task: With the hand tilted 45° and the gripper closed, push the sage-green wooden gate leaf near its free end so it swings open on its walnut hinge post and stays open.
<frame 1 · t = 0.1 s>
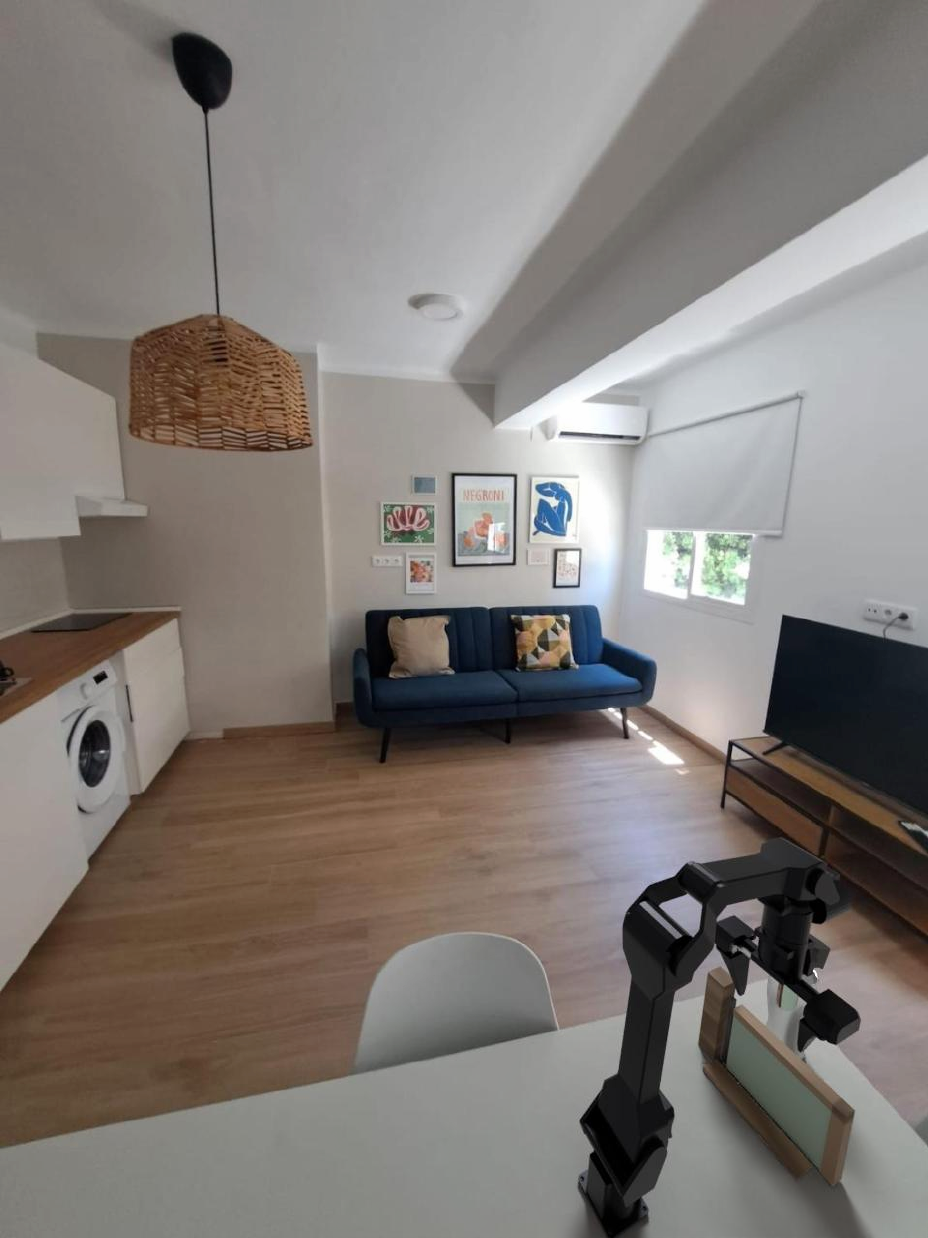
hand: (769, 1021, 72), 15 cm above the table, tool pointing down, fingers open, 9 cm apart
beer glass: (782, 1046, 84), on the table
gate leaf: (783, 1087, 72), point 6 cm above the table, hinge at 0.0°
gate frame: (724, 1062, 80), on the table
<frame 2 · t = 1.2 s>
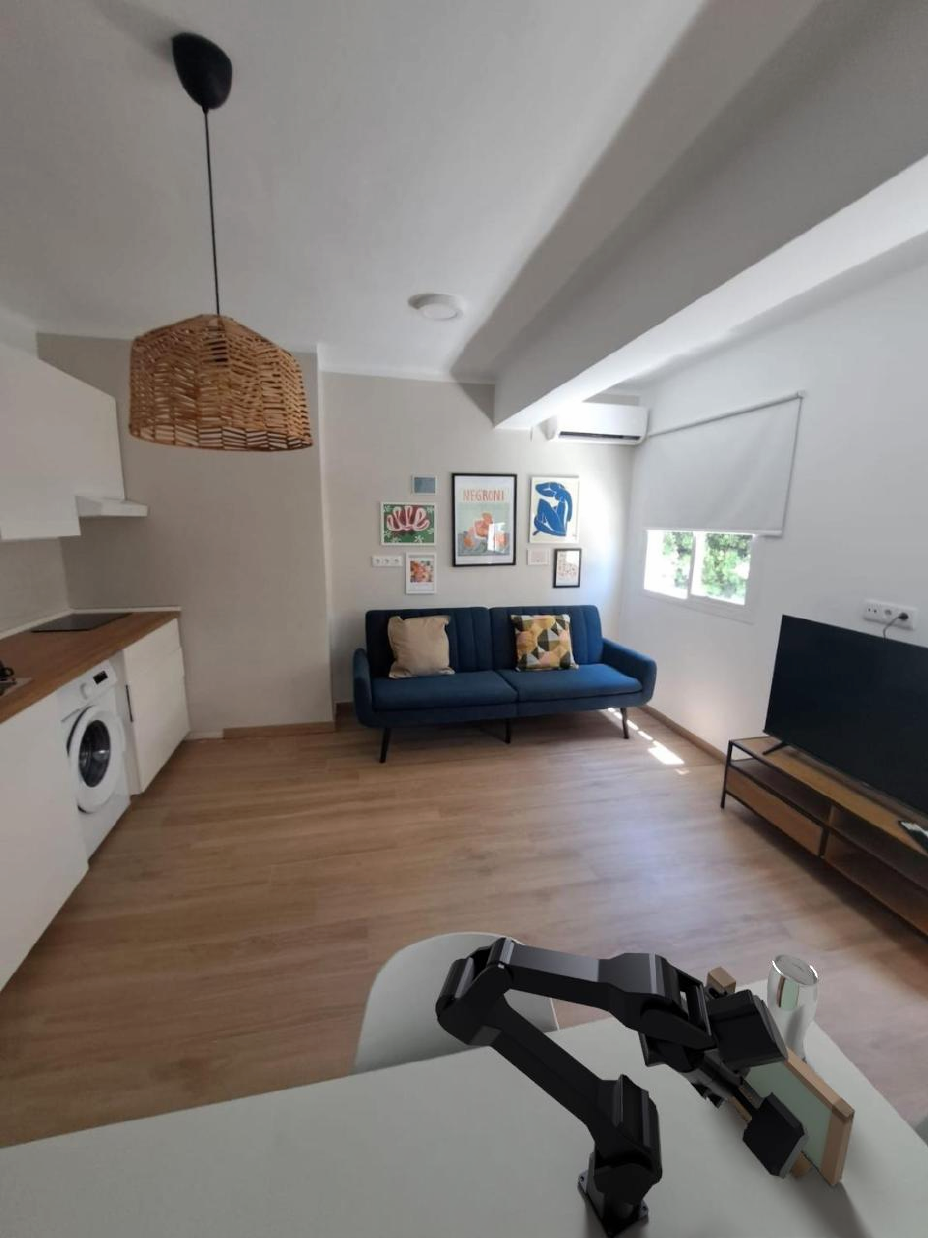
hand: (742, 1090, 65), 12 cm above the table, tool tilted 45°, fingers open, 8 cm apart
nothing on the table moved.
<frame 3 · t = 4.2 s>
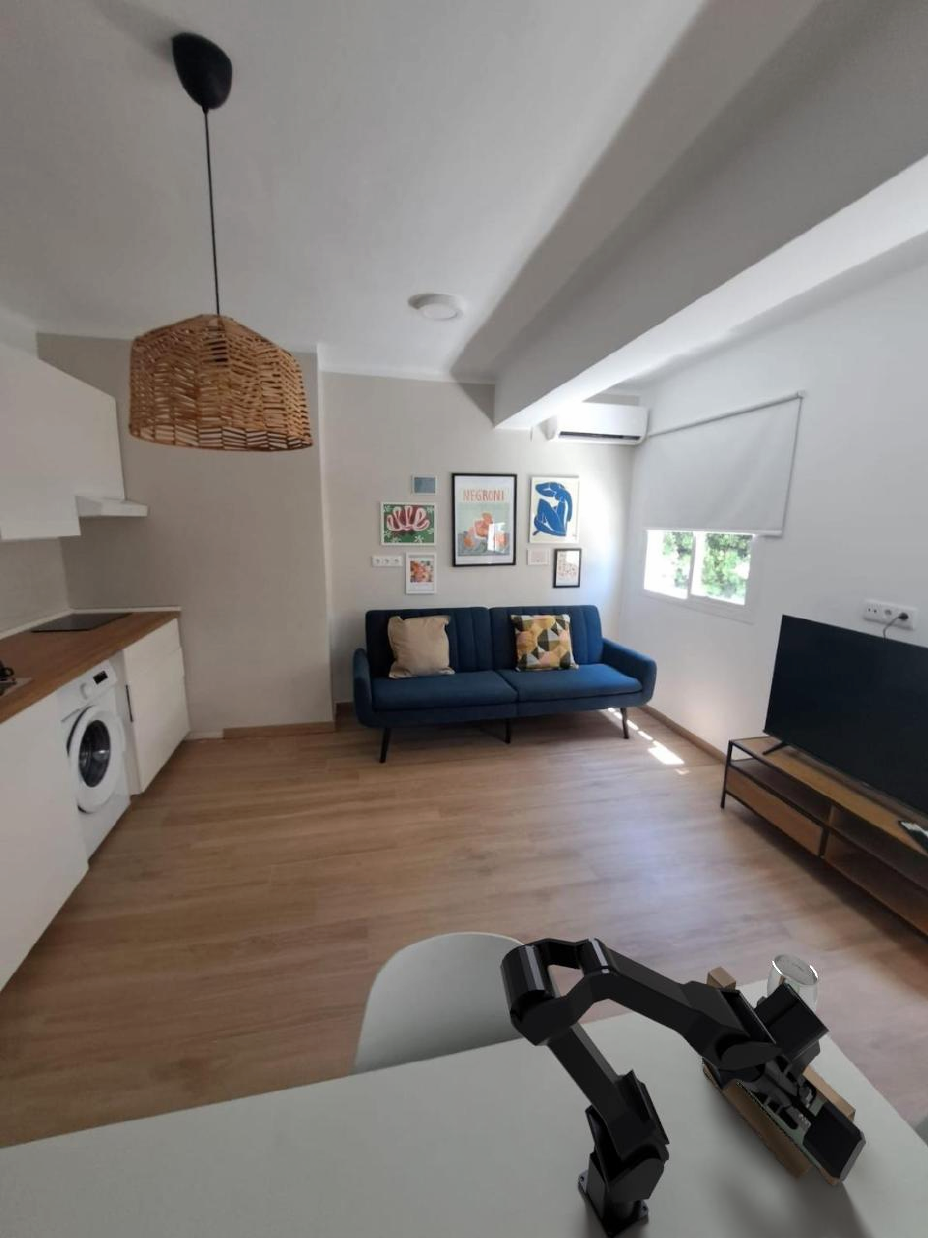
hand: (796, 1097, 69), 7 cm above the table, tool tilted 45°, fingers closed, pressing on gate leaf
gate leaf: (783, 1086, 72), point 6 cm above the table, hinge at 0.6°, touching gripper
everything else where it was.
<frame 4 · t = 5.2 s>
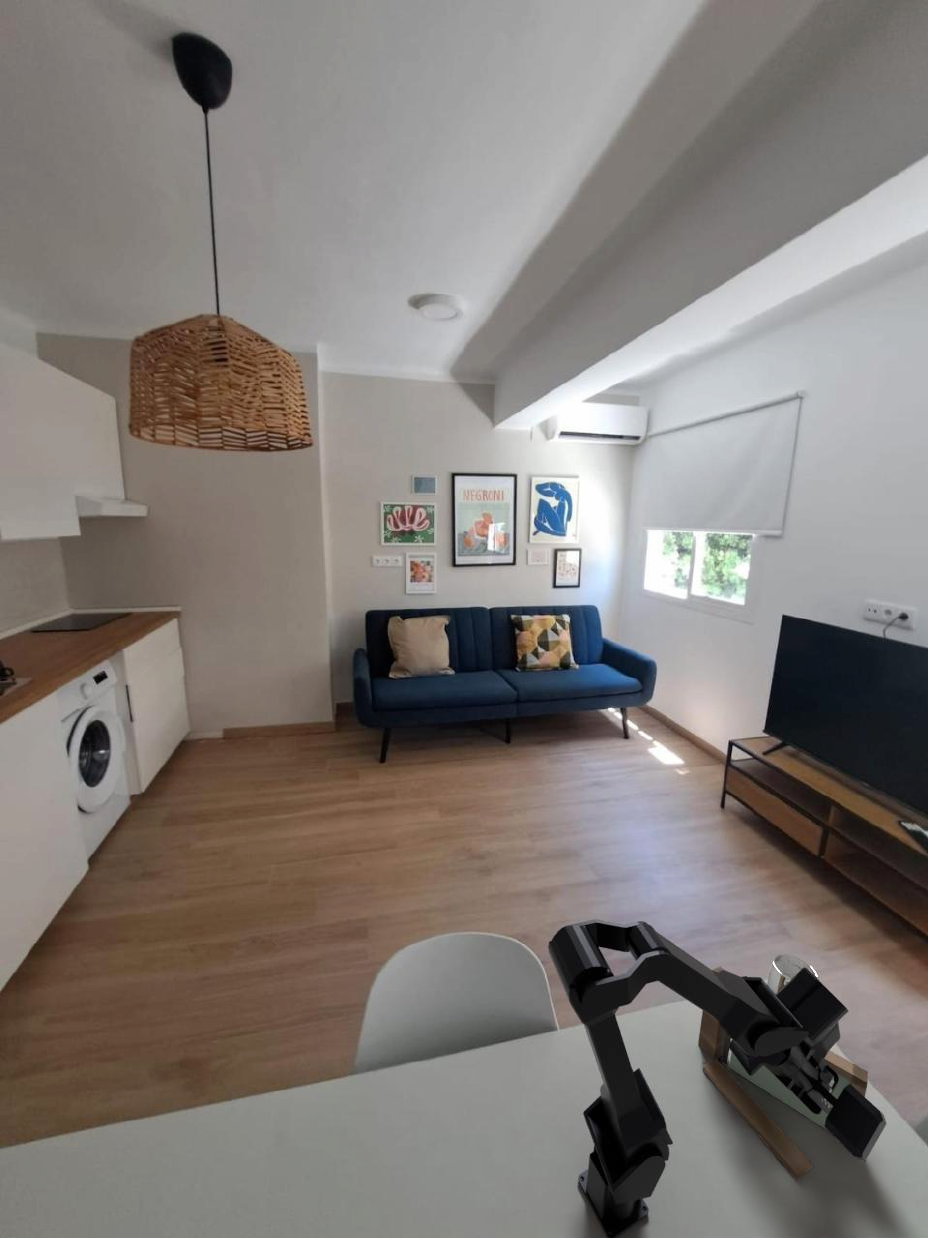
hand: (814, 1082, 71), 7 cm above the table, tool tilted 45°, fingers closed
gate leaf: (793, 1070, 74), point 6 cm above the table, hinge at 26.0°, touching gripper
everything else where it was.
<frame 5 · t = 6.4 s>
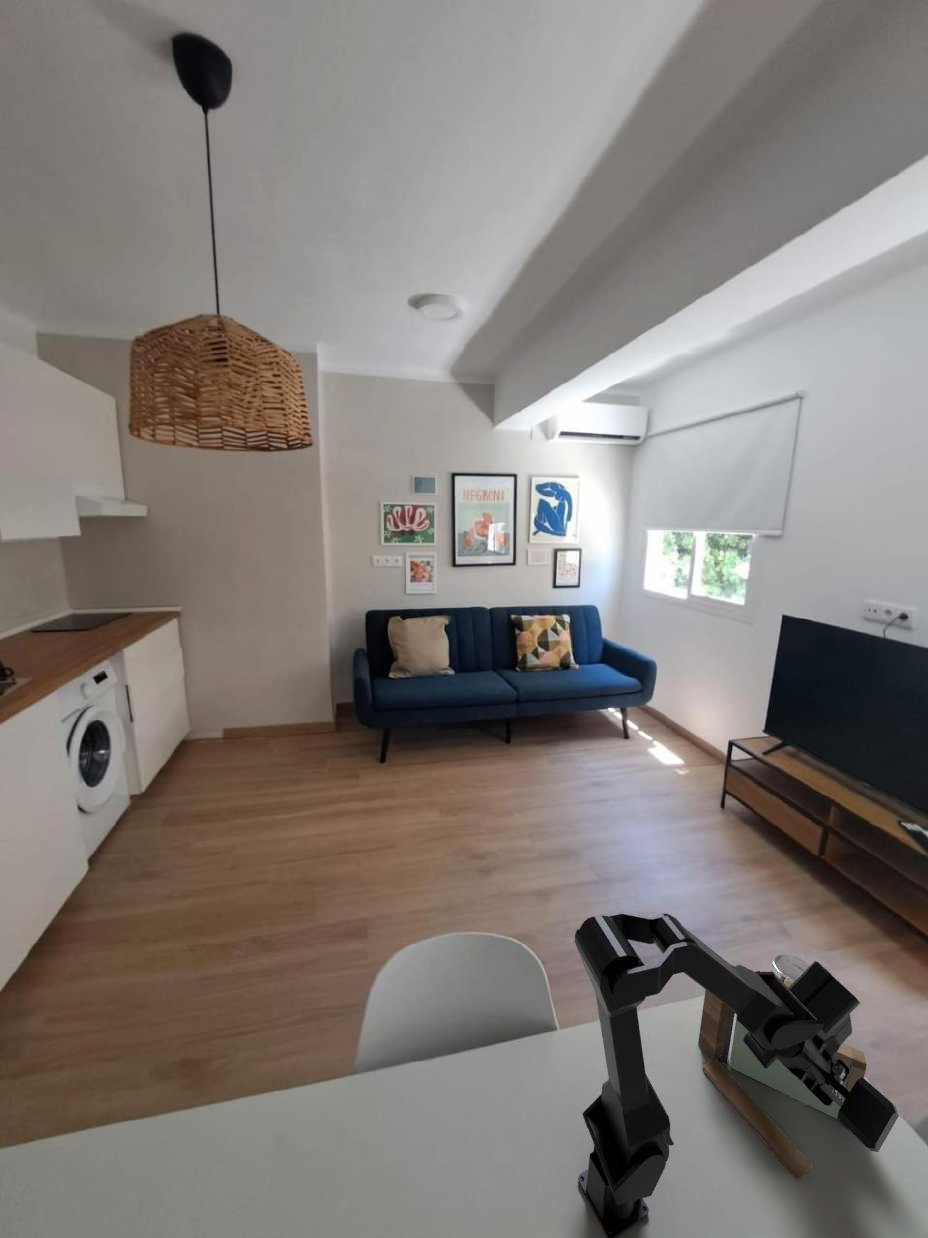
hand: (826, 1077, 72), 7 cm above the table, tool tilted 45°, fingers closed
gate leaf: (793, 1061, 75), point 6 cm above the table, hinge at 36.6°, touching gripper
everything else where it was.
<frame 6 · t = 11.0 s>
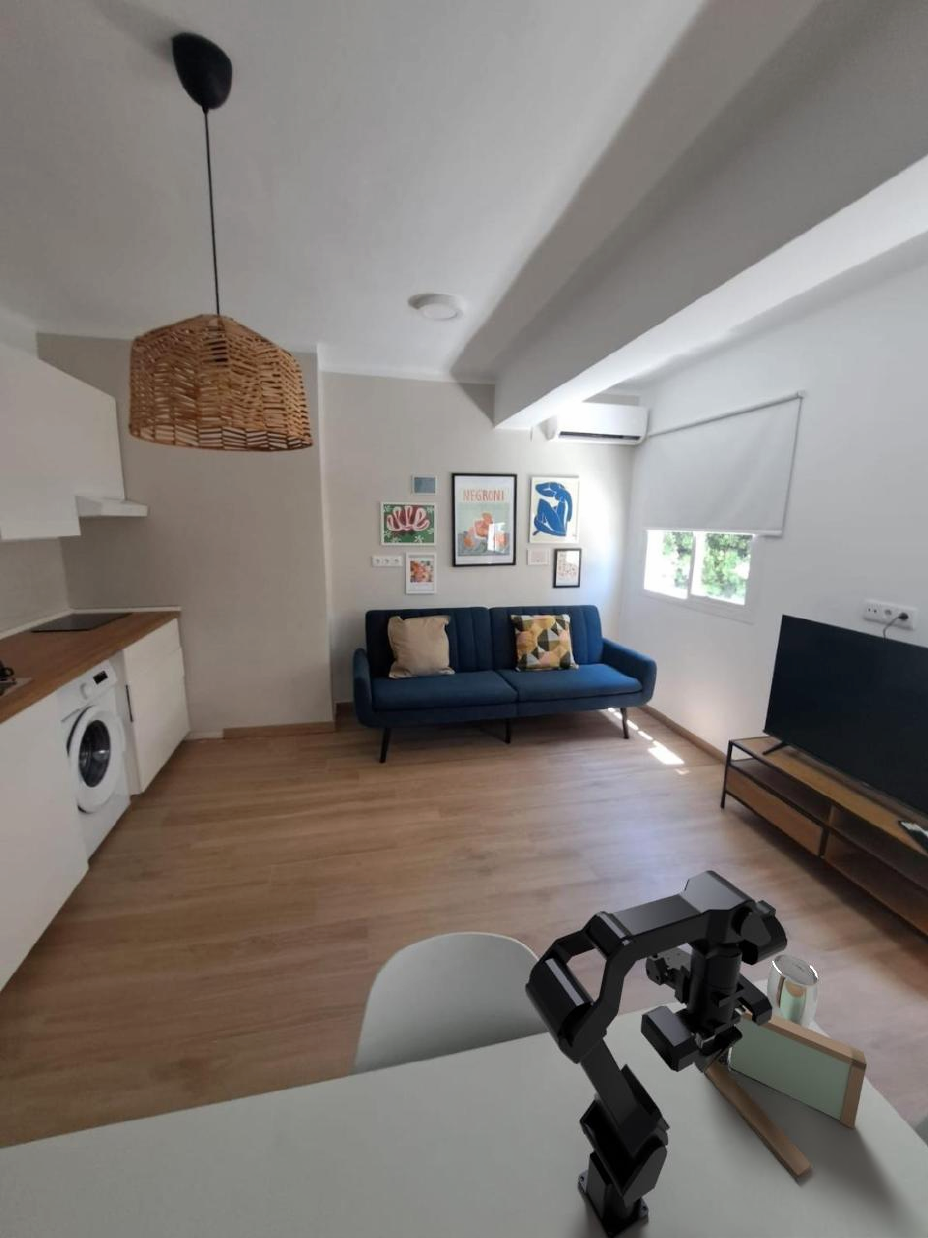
hand: (700, 1068, 67), 13 cm above the table, tool pointing down, fingers closed
gate leaf: (793, 1061, 75), point 6 cm above the table, hinge at 36.7°
everything else where it was.
at the end: gate leaf at +37° (first picture: +0°); beer glass moved 0.2 cm from its start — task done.
